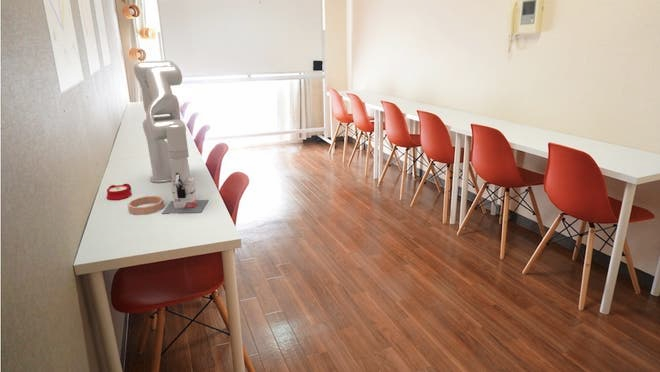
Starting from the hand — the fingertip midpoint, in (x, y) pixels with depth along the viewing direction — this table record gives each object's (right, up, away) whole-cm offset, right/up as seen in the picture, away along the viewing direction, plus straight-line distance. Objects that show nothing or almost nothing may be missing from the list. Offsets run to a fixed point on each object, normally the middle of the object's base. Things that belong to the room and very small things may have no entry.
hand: (184, 194), depth 184 cm
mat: (0, -5, +2) cm, 6 cm away
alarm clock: (-36, -1, +18) cm, 40 cm away
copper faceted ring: (-16, -6, +1) cm, 17 cm away
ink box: (0, -5, +2) cm, 5 cm away
